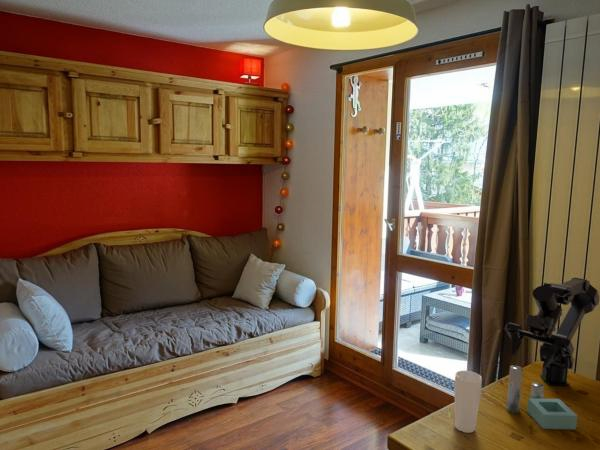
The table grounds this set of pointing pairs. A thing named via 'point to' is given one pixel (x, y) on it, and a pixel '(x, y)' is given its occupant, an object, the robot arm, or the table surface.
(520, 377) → the tall pin
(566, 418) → the hole block
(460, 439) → the table surface
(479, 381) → the drinking glass
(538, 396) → the short pin
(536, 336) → the robot arm
